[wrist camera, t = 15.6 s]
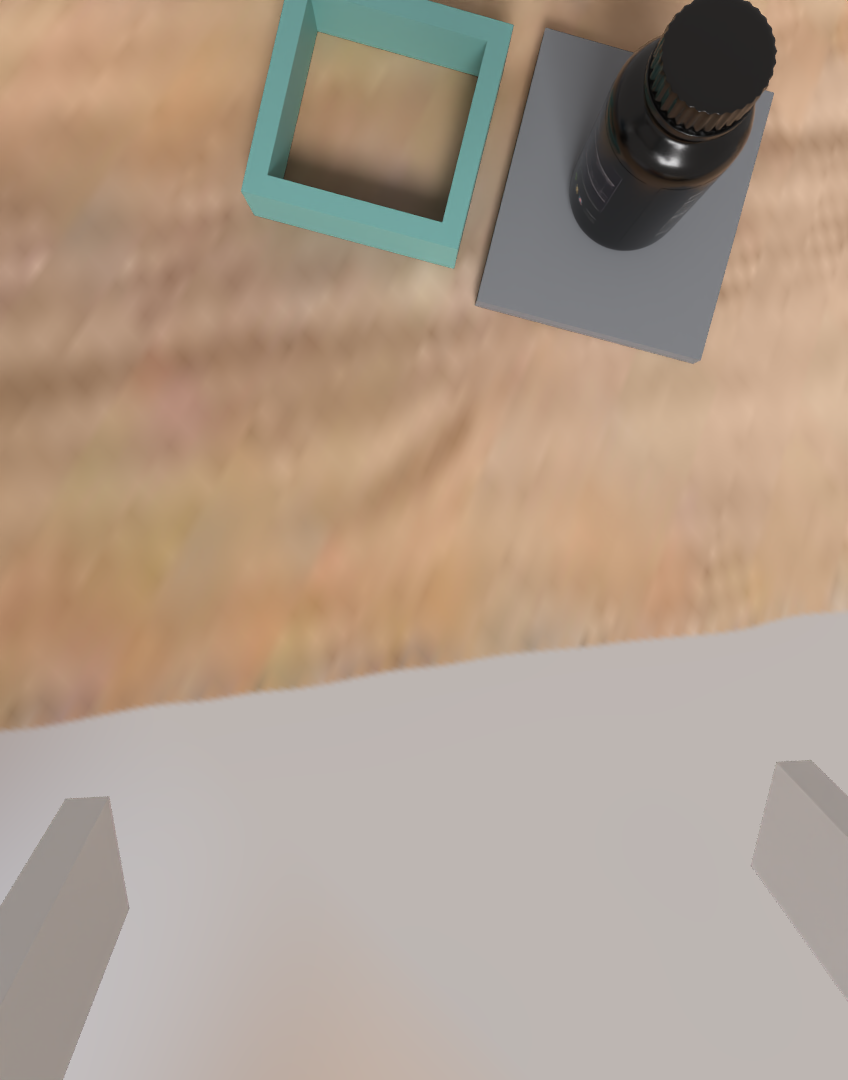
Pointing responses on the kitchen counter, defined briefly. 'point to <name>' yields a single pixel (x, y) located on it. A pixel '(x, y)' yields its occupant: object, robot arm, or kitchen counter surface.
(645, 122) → the supplement bottle
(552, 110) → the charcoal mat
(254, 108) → the kitchen counter surface
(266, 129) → the teal collar
